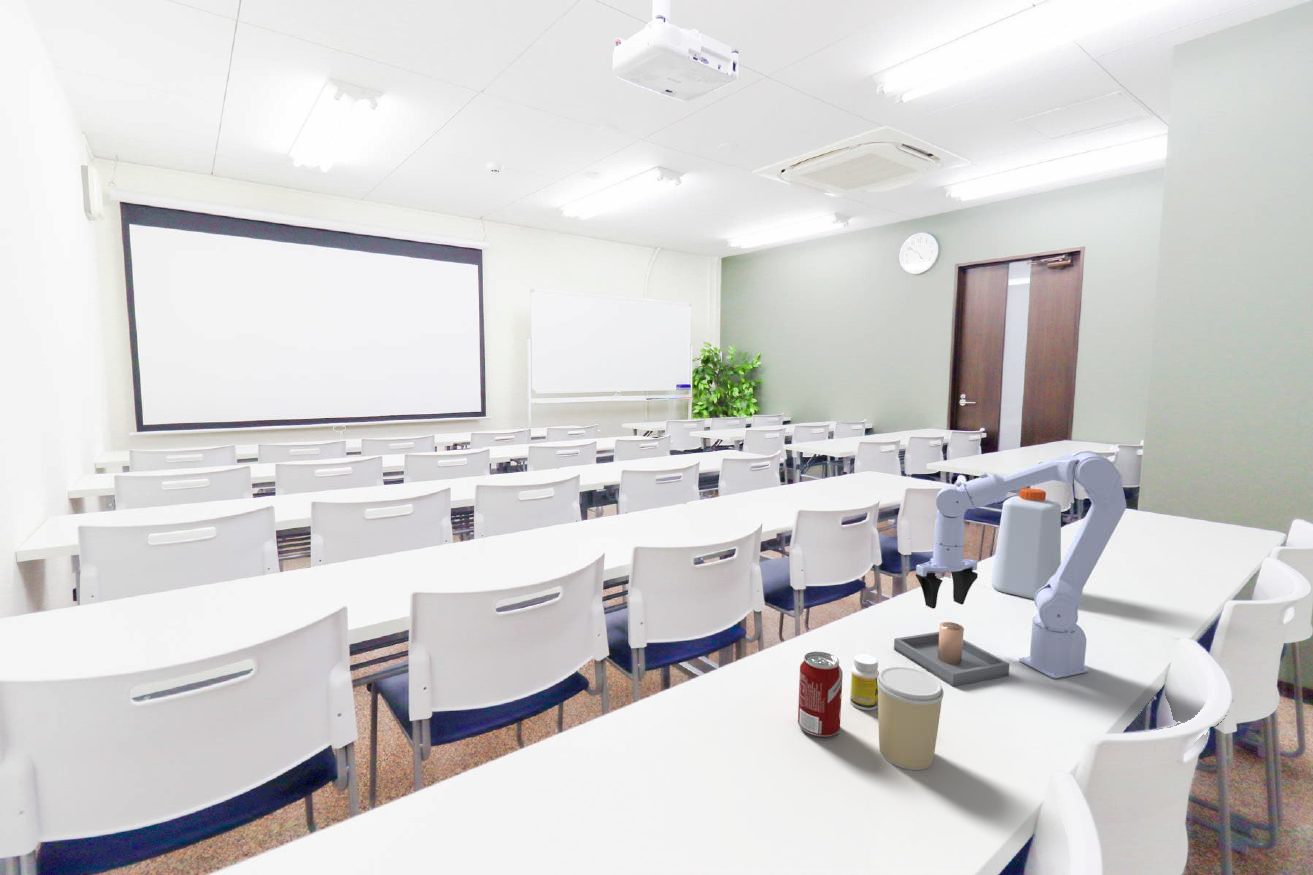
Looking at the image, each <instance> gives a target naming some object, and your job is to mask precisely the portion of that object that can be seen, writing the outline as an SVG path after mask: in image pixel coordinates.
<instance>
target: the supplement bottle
mask: <svg viewBox="0 0 1313 875" xmlns="http://www.w3.org/2000/svg"><path fill="white" fill-rule="evenodd" d="M878 669H879V660H878V658H877V657H875V656H873V655H871V654H868V653H867V654H865V653H860V654H856V655H855V656H854V658H853V666H852V667H851V671H850V689H849V690H850V691H849V692H850V693H849V694H850V695H849V702H850V704H851V705H852V706H853V707H855V708H856V709H859V710H862V711H873V710H876V709H877V708H878V684H877V678H878V676H879V675H880V672H879V670H878Z"/></svg>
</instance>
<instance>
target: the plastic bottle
mask: <svg viewBox="0 0 1313 875" xmlns="http://www.w3.org/2000/svg"><path fill="white" fill-rule="evenodd" d="M1046 497H1047V492H1046V491H1045V490H1043V489H1038V488H1027V487H1024V488H1021V489H1020V490H1019V495H1014V496H1011V497H1010V498H1008V499H1006V500H1005V501H1004V502H1003V503H1002V510H1001V517H1000V521H999V530H998V534H997V541H996V549H995V554H994V561H993V566H992V567H993V568H992V574H991V580H990V583H991V586H992V587H993V588H994V589H995V590H996V591H999V592H1001V593H1004V594H1010V595H1013V596H1017V597H1023V598H1027V599H1031V600H1034V596H1035V594H1036V592H1037V591H1038V590H1039V589H1040V588H1042V587H1044V586H1045V585H1046V584H1047V582H1048V581H1049V579H1050V578H1051V577H1052V576H1053V575H1054V574H1056V572H1057V570H1058V568H1059V566H1060V564H1061V562H1062V558H1061V557H1062V553H1061V552H1062V548H1061V546H1062V540H1061V538H1062V536H1061V534H1062V520H1061V518H1062V513H1061V512H1062V507H1061V506H1062V505H1061V504H1060V503H1059V502H1058V501H1056V500H1052V499H1046Z"/></svg>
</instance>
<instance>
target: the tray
mask: <svg viewBox="0 0 1313 875" xmlns="http://www.w3.org/2000/svg"><path fill="white" fill-rule="evenodd" d="M893 641H894V642H893V650H895V651H896V652H897V653H898V654H900V655H902V656H904V657H905V658H907V659H908V660H910V661H912V662H913V663H914V664H917V666H920V667H921V668H922V669H925V670H926V672H929V673H930V674H932V676H934V677H937V678H938V679H940V680H942V681H943V682H944V683H946V684H948V685H950V686H951V687H956V686H961V685H967V684H971V683H978V682H981V681H988V680H993V679H997V678H1003V677H1008V676H1010V664H1011V663H1010V662H1007V661H1005V660H1003V659H1002V658H999V657H997V656H995V655H994V654H992V653H991V652H988V651H986V650H984V649H982V648H980V647H979V646H977V645H975V644H973V643H971V642H969V641H968V640H965V639H964V638H963V647H962V661H961V663H960V664H948V663H945V662H942V661H941V660H939V659H938V644H939V631H936V632H935V631H934V632H929V633H922V634H916V635H915V634H914V635H910V636H909V635H908V636H903V637H897V638H894V640H893Z"/></svg>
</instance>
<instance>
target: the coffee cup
mask: <svg viewBox="0 0 1313 875" xmlns="http://www.w3.org/2000/svg"><path fill="white" fill-rule="evenodd" d="M877 684H878V706H877V708H878V709H877V711H878V713H877V714H878V715H877V716H878V746H879V747H878V748H879V751H880V752H879V753H880V755H881V756H882V757H883V758H884V759H885V760H886V761H887V762H889V763H890V764H892V765H894V766H896V767H899V768H901V769H904V770H910V771H923V770H926V769H928V768H930V767H931V766H932V765H933V762H934V757H935V752H936V744H937V737H938V730H939V724H940V717H941V716H940V715H941V711H942V710H941V709H942V702H943V697H944V694H945V692H944V689H943V687H942V683H941V682H940V681H939V680H938V679H937V678H936V677H935V676H934V675H931V674H929V673H927V672H925V671H922V670H919V669H916V668H911V667H905V666H893V667H891V666H890V667H888V668H884V669H883V670H881V671H880V672H879V676H878V678H877Z"/></svg>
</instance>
